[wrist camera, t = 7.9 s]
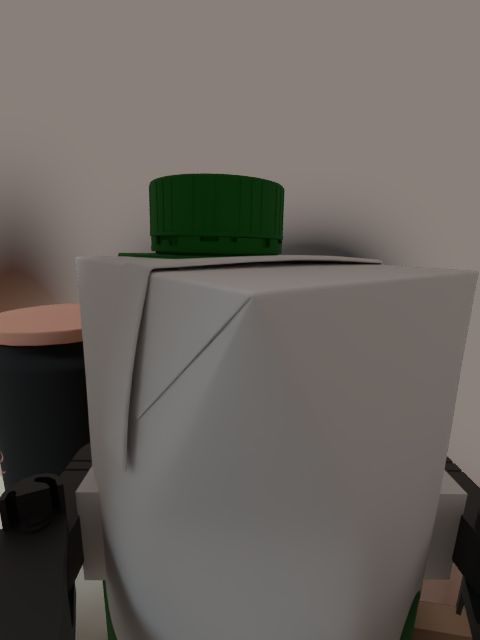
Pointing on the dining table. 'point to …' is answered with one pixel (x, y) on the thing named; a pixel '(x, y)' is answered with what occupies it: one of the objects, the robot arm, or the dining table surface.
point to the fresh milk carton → (264, 423)
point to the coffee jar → (41, 391)
